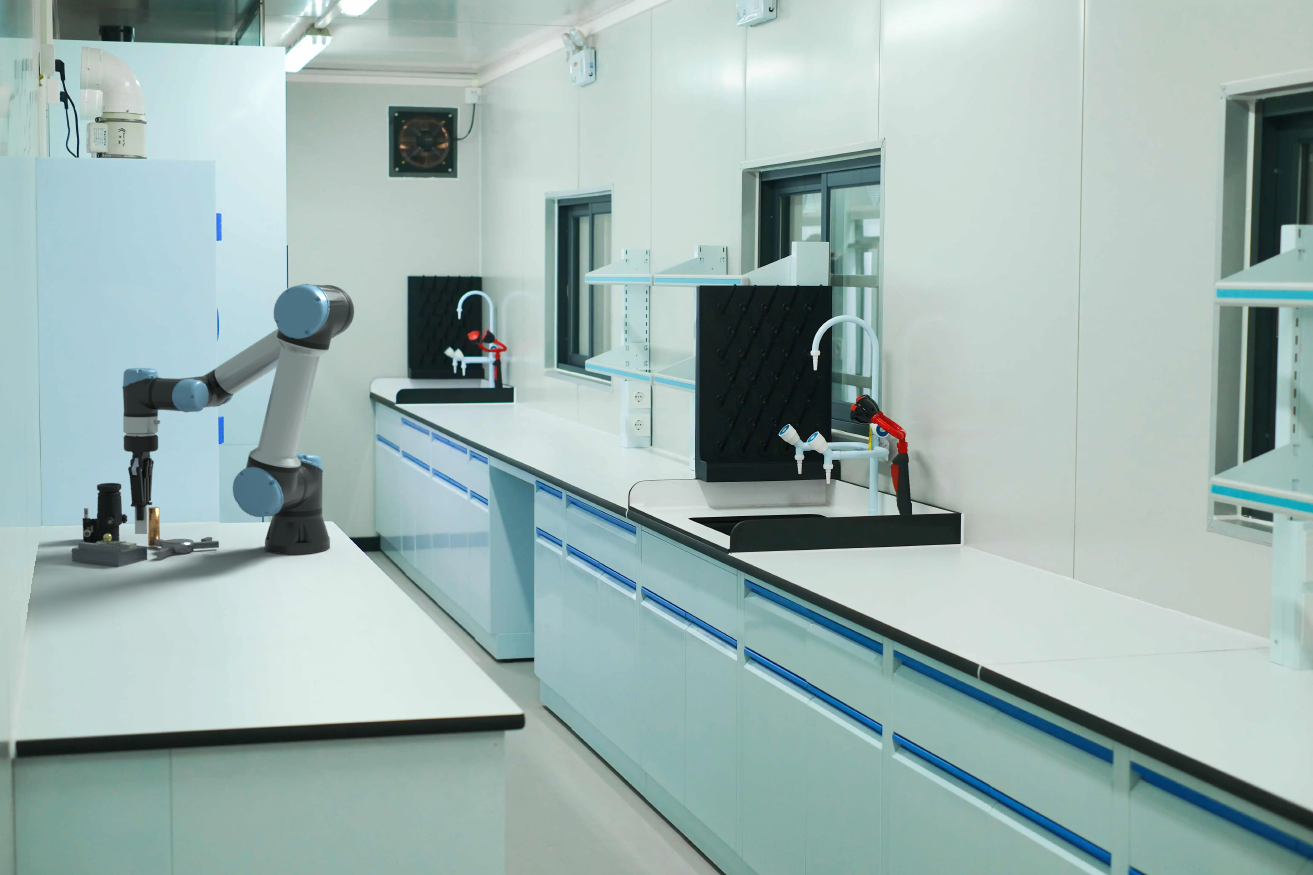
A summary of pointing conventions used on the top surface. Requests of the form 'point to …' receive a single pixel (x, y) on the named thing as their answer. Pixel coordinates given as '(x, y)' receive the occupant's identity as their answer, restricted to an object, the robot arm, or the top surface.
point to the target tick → (206, 539)
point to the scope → (105, 514)
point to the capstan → (173, 544)
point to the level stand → (109, 552)
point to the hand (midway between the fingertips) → (141, 533)
